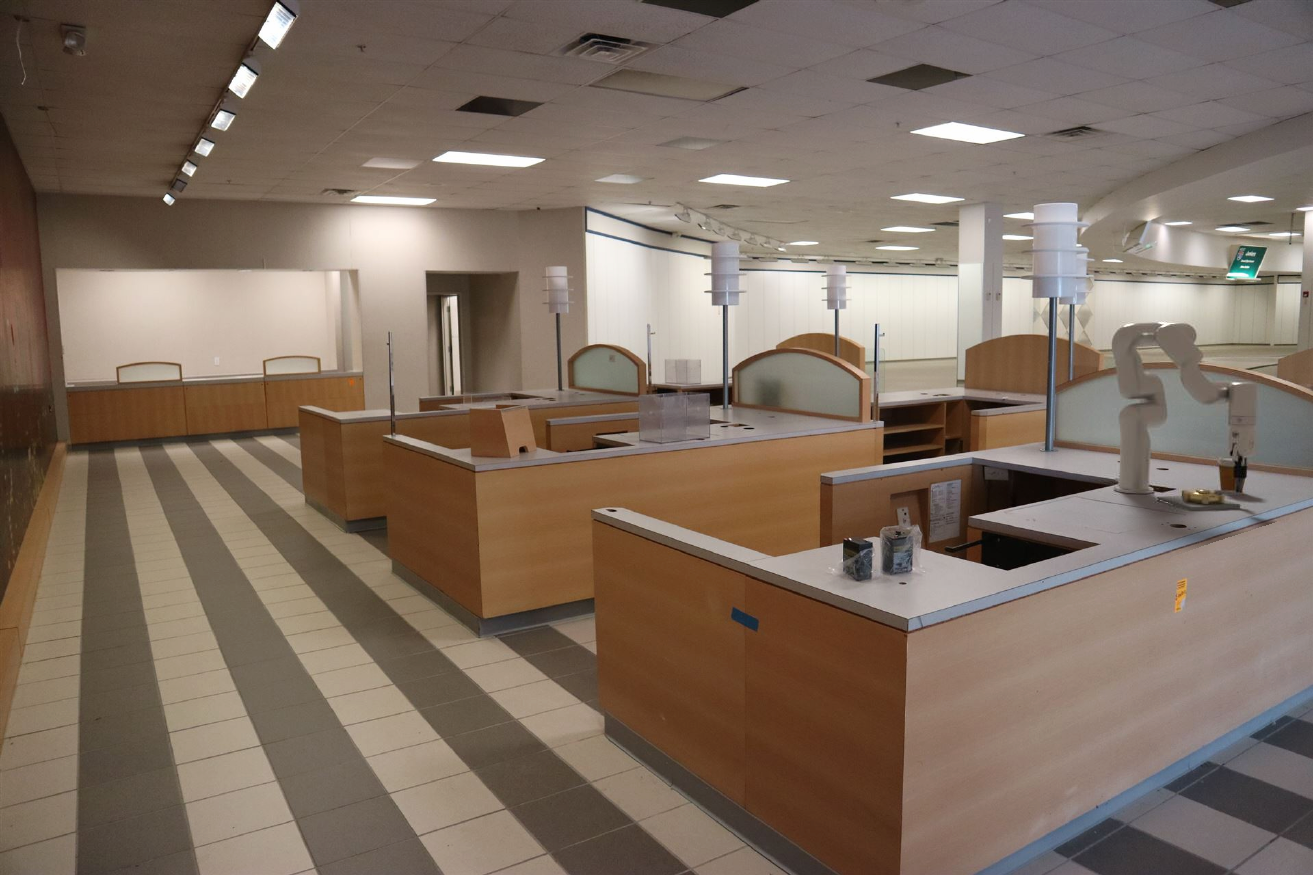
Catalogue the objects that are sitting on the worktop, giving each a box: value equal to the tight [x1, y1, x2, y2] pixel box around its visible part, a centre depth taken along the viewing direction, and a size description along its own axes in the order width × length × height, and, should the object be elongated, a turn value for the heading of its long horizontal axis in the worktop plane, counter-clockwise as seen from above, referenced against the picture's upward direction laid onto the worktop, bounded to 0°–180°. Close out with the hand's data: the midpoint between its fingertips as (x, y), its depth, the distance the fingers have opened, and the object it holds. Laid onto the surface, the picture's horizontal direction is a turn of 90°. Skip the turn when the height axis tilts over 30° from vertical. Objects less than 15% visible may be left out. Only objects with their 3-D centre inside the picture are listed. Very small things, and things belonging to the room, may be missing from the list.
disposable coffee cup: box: [1217, 456, 1250, 492], centre depth 314 cm, size 10×10×12 cm
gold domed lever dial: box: [1181, 478, 1244, 504], centre depth 295 cm, size 17×12×9 cm
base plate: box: [1156, 495, 1241, 512], centre depth 298 cm, size 17×17×1 cm
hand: (1240, 477), depth 287 cm, fingers closed
